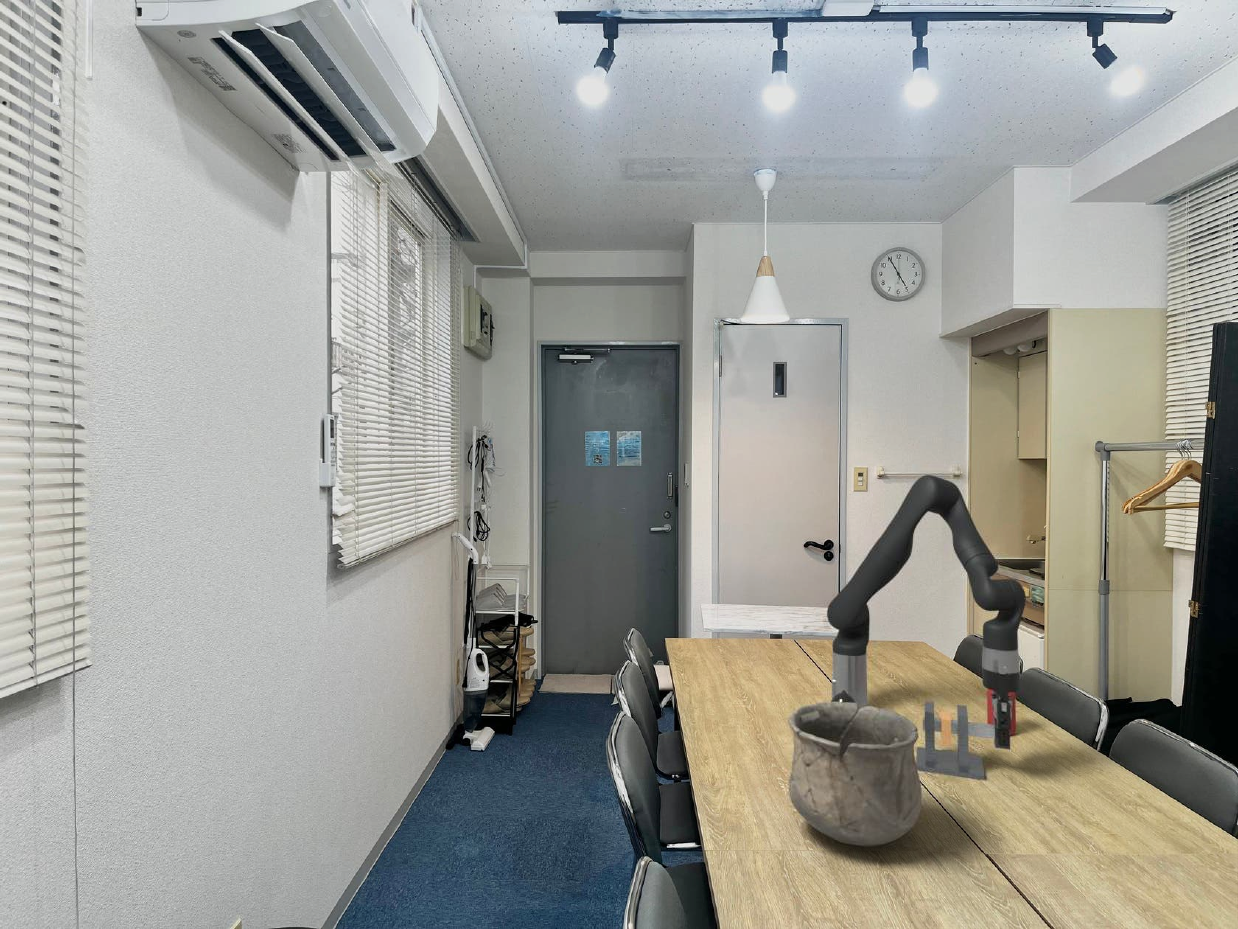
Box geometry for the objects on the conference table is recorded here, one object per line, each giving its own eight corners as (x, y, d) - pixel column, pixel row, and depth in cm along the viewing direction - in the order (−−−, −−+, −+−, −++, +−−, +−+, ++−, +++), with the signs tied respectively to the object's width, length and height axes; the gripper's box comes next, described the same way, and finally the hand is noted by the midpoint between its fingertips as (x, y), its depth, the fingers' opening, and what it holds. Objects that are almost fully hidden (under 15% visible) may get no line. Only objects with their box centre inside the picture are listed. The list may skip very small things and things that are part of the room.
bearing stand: (915, 770, 161) (915, 713, 161) (917, 750, 172) (916, 697, 172) (984, 780, 155) (983, 721, 155) (981, 759, 166) (980, 705, 166)
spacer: (941, 745, 161) (941, 719, 161) (941, 736, 167) (941, 711, 167) (951, 746, 160) (950, 720, 160) (950, 737, 166) (950, 712, 166)
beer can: (1020, 737, 179) (1019, 690, 180) (992, 735, 181) (991, 689, 181) (1011, 728, 186) (1010, 682, 186) (984, 726, 187) (983, 681, 187)
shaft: (922, 738, 164) (922, 712, 164) (923, 733, 167) (922, 708, 167) (1010, 749, 157) (1009, 723, 157) (1008, 744, 160) (1008, 718, 160)
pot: (846, 882, 117) (844, 754, 117) (763, 819, 139) (761, 711, 139) (953, 849, 127) (951, 731, 127) (861, 795, 149) (859, 694, 149)
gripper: (980, 658, 167) (981, 727, 167) (984, 673, 154) (985, 749, 154) (1016, 661, 164) (1017, 731, 164) (1023, 677, 151) (1024, 754, 151)
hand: (1002, 739), depth 159 cm, fingers open, 7 cm apart
